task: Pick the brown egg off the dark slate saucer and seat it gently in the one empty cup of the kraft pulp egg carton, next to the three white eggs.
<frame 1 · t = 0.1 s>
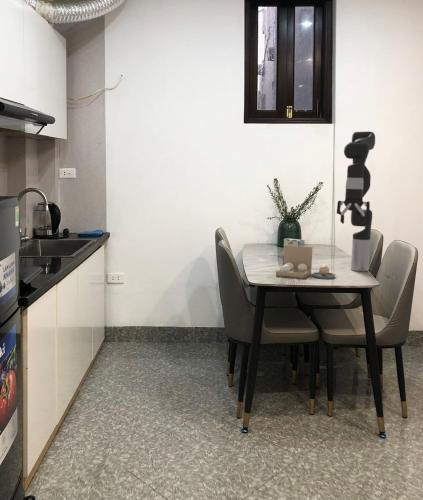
hand: (352, 223, 218), 29 cm above the table, fingers open, 8 cm apart
slate saucer: (323, 276, 244), on the table
egg carton: (293, 274, 248), on the table
white egg 1: (302, 268, 249), point 3 cm above the table, touching egg carton
brown egg: (324, 270, 243), point 3 cm above the table, touching slate saucer
white egg 3: (285, 269, 245), point 3 cm above the table, touching egg carton
white egg 2: (289, 267, 252), point 3 cm above the table, touching egg carton
candy bar box: (292, 269, 265), on the table
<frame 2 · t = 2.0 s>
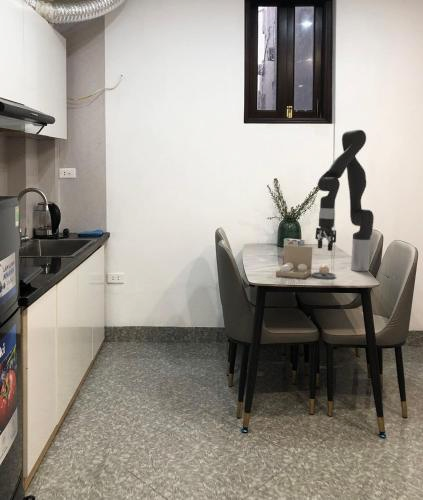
hand: (324, 249, 242), 14 cm above the table, fingers open, 8 cm apart
nothing on the table moved.
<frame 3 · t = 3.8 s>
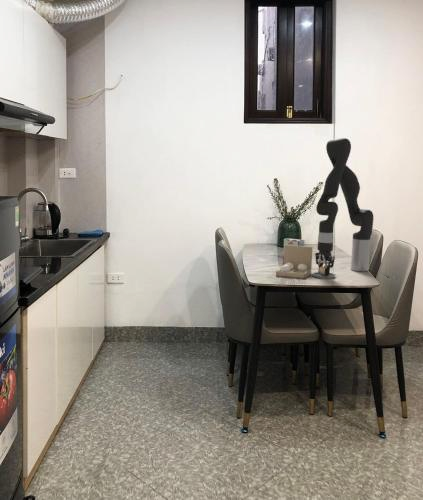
hand: (323, 274, 244), 1 cm above the table, fingers closed on brown egg, 5 cm apart
brown egg: (324, 270, 243), point 3 cm above the table, touching gripper, slate saucer
everything else where it was.
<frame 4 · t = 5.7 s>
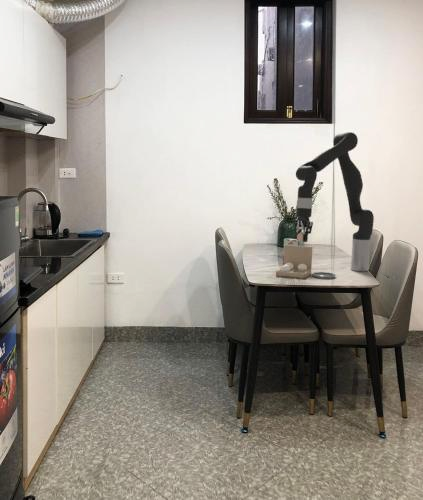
hand: (302, 241, 240), 18 cm above the table, fingers closed on brown egg, 5 cm apart
brown egg: (302, 237, 240), point 20 cm above the table, touching gripper
everything else where it was.
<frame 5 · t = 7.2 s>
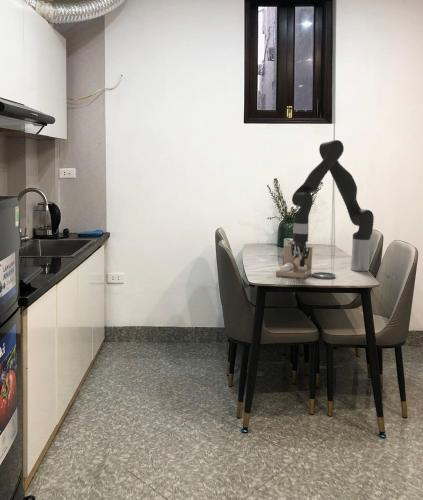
hand: (299, 265, 242), 6 cm above the table, fingers closed on brown egg, 5 cm apart
brown egg: (299, 261, 242), point 8 cm above the table, touching gripper
everything else where it was.
when the fingers open (3 cm above the table, at t = 8.1 s): brown egg drops 2 cm, resting on egg carton.
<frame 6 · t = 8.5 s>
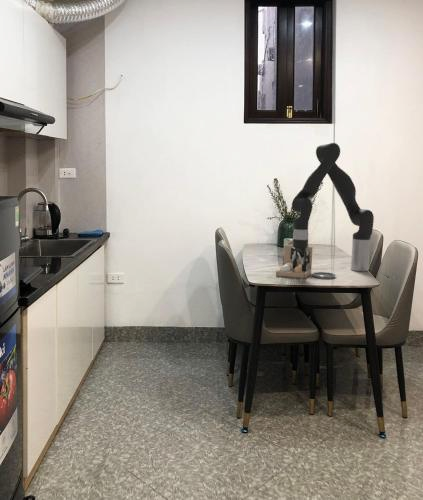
hand: (299, 269, 243), 4 cm above the table, fingers open, 8 cm apart
brown egg: (299, 270, 243), point 3 cm above the table, touching egg carton
everything else where it was.
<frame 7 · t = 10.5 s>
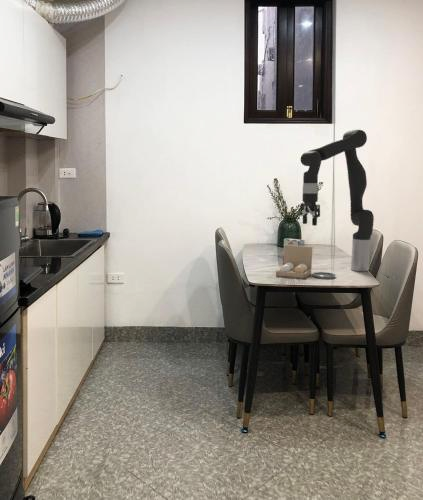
hand: (309, 224, 242), 26 cm above the table, fingers open, 8 cm apart
nothing on the table moved.
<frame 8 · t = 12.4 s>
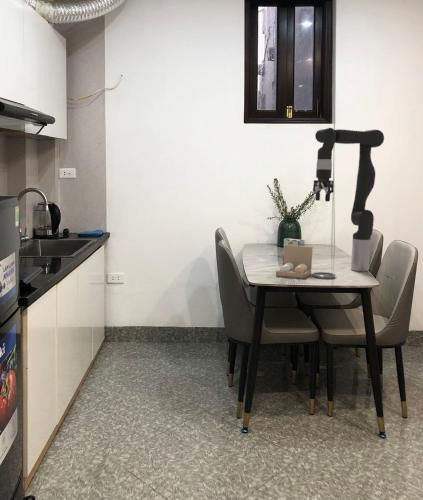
hand: (322, 200, 244), 38 cm above the table, fingers open, 8 cm apart
nothing on the table moved.
at the end: brown egg 0.0 cm from the target spot on the egg carton, point 3.1 cm above the egg carton's base; the gripper is holding nothing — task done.
